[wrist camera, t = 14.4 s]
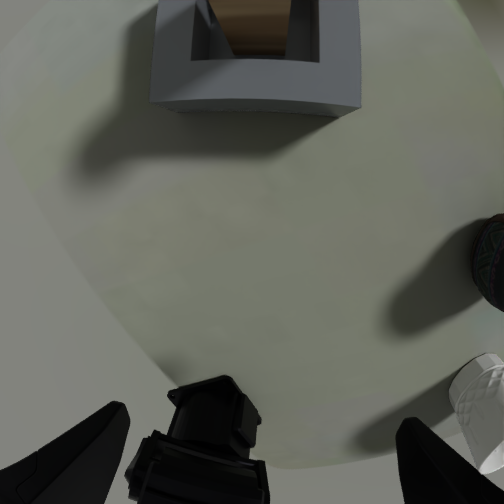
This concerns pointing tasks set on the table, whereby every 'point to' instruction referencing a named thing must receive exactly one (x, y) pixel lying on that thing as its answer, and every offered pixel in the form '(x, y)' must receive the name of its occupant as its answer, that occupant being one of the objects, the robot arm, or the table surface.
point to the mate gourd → (490, 261)
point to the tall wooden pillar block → (254, 25)
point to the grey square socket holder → (258, 62)
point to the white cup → (481, 410)
